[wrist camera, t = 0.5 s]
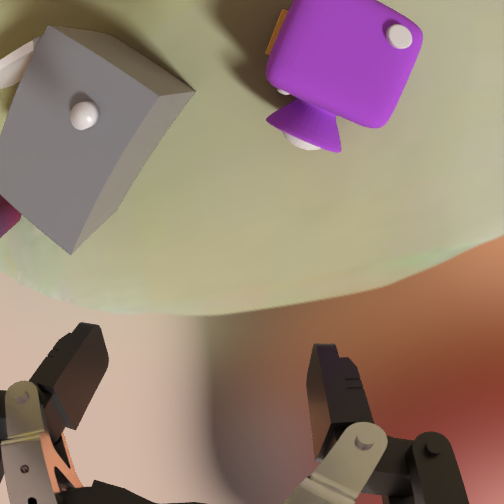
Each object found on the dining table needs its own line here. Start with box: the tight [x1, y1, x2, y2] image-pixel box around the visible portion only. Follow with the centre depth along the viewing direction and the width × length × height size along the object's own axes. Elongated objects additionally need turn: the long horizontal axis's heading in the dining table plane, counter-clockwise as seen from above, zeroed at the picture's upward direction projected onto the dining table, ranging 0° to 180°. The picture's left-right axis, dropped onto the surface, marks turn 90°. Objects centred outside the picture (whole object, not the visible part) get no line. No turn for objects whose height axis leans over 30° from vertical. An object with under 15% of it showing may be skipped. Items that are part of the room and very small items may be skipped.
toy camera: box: [265, 0, 423, 153], centre depth 21 cm, size 11×14×10 cm
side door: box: [0, 37, 41, 89], centre depth 20 cm, size 13×2×8 cm, turn 96°
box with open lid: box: [0, 25, 196, 255], centre depth 24 cm, size 17×12×11 cm
